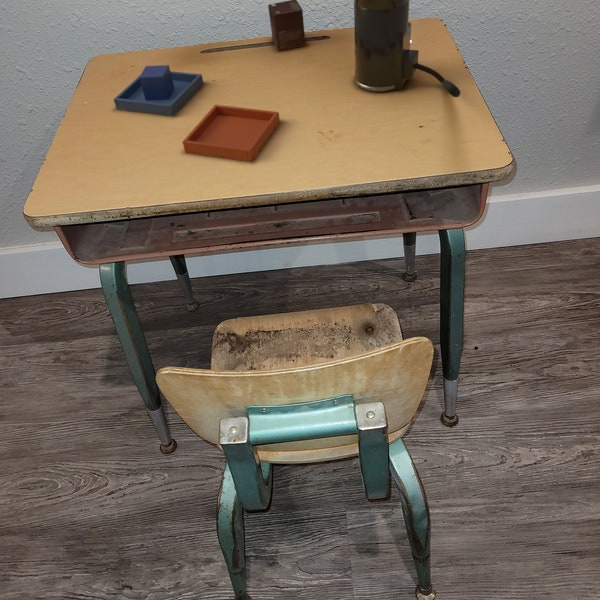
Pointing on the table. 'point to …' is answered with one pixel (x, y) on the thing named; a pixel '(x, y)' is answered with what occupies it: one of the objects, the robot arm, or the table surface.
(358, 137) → the table surface
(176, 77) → the blue tray
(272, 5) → the box
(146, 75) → the blue block
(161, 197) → the table surface
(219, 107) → the warm tray
